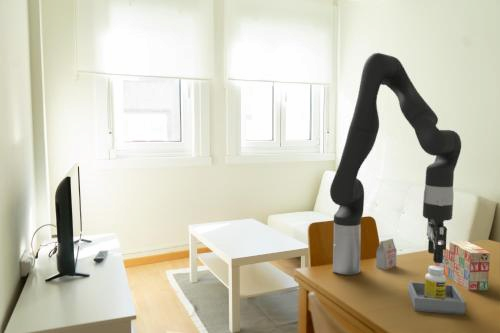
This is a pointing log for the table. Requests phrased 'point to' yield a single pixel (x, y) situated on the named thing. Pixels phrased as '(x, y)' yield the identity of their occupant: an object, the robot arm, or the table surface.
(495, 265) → the table surface
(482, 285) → the stack of blocks
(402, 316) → the table surface
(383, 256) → the herbal tea box
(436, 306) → the box
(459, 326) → the table surface
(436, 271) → the supplement bottle
